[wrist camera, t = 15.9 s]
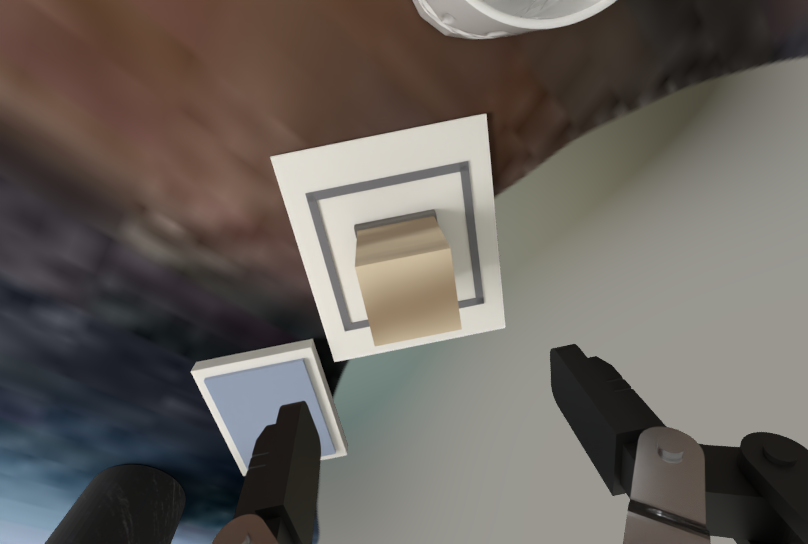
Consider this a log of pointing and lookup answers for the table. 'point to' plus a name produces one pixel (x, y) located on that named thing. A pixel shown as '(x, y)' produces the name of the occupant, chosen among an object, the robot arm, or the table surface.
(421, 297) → the stamp
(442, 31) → the white cup
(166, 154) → the table surface
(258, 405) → the ink pad
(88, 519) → the travel mug
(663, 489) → the robot arm
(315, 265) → the sheet
